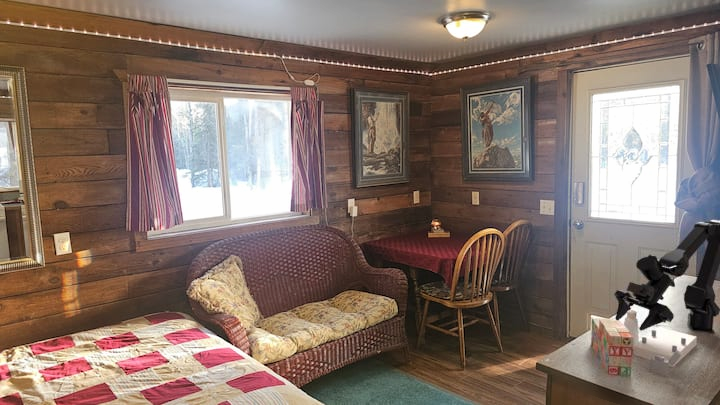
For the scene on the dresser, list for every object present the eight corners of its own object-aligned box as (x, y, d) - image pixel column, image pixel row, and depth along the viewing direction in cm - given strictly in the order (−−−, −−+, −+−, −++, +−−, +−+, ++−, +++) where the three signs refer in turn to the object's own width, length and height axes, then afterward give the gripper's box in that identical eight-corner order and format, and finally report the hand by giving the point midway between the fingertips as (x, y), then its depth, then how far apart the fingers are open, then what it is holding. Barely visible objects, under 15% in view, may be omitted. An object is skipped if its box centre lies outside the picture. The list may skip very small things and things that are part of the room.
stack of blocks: (590, 344, 159) (592, 308, 158) (610, 345, 158) (612, 310, 156) (607, 375, 139) (609, 334, 137) (631, 377, 137) (633, 336, 135)
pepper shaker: (623, 338, 163) (625, 307, 161) (641, 342, 159) (643, 311, 158) (618, 343, 159) (620, 311, 158) (636, 348, 155) (638, 315, 154)
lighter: (650, 372, 139) (652, 346, 138) (651, 370, 141) (652, 344, 140) (679, 379, 135) (681, 353, 134) (679, 377, 136) (682, 350, 135)
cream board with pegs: (658, 335, 165) (659, 322, 164) (695, 345, 156) (697, 332, 156) (633, 354, 151) (634, 341, 150) (673, 367, 142) (674, 352, 142)
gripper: (619, 266, 166) (593, 301, 164) (669, 281, 149) (640, 320, 146) (635, 285, 170) (609, 320, 168) (686, 302, 152) (658, 341, 150)
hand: (628, 324), depth 158 cm, fingers open, 9 cm apart
